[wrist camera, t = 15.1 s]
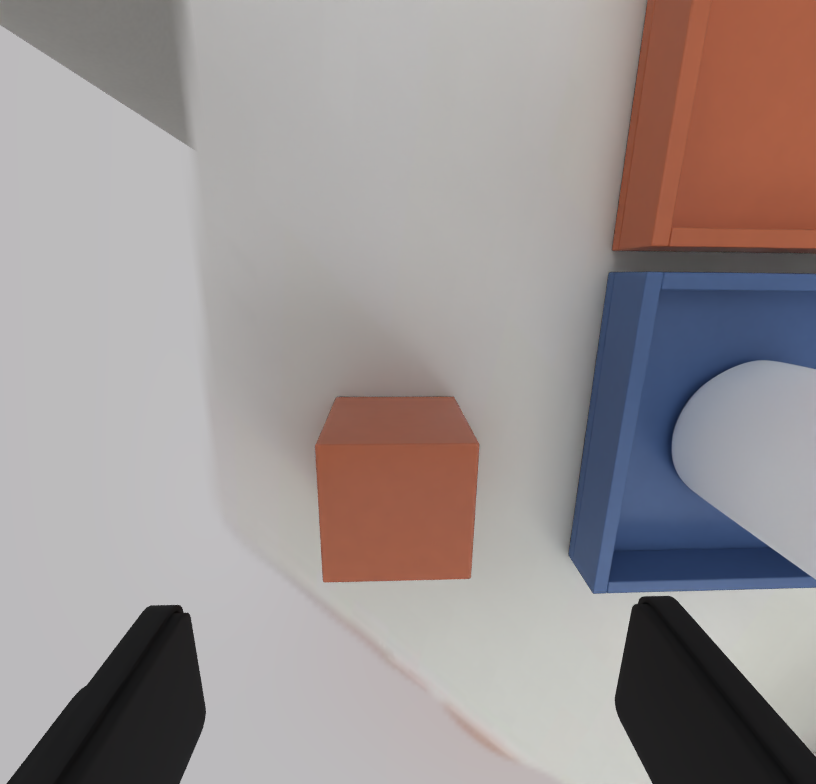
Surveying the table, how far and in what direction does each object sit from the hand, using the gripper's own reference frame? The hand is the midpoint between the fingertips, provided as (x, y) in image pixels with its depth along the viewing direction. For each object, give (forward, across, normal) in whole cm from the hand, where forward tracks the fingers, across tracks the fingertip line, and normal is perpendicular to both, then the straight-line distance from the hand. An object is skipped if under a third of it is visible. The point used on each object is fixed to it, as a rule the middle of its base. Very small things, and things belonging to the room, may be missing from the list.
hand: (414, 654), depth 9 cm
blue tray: (+10, -15, -2) cm, 18 cm away
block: (+10, 0, 0) cm, 10 cm away
